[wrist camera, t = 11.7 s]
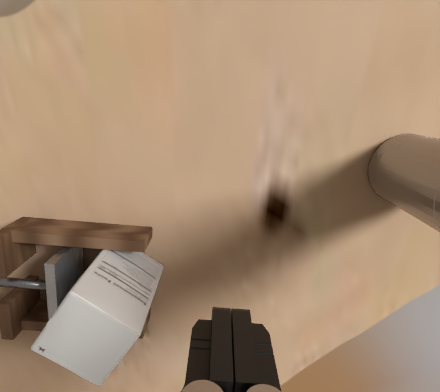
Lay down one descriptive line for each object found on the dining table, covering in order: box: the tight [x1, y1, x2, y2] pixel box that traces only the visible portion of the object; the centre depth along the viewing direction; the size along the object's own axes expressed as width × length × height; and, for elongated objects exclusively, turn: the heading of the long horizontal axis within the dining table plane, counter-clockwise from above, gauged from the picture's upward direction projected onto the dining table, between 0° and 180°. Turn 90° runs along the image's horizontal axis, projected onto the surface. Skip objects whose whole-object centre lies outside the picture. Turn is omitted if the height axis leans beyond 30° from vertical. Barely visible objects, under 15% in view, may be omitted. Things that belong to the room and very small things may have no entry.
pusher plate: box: [0, 246, 84, 320], centre depth 44 cm, size 18×11×8 cm, turn 85°
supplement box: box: [30, 249, 164, 386], centre depth 41 cm, size 9×9×15 cm
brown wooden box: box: [0, 217, 152, 340], centre depth 45 cm, size 18×15×7 cm
